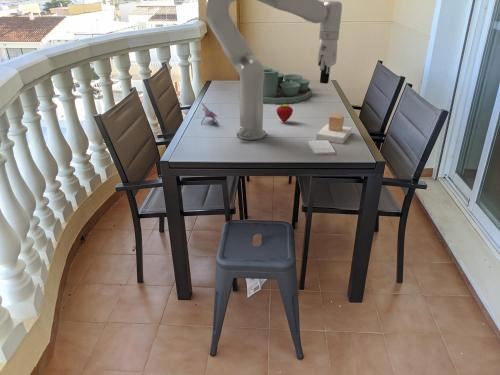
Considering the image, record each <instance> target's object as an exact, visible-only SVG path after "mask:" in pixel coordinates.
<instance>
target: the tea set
mask: <svg viewBox="0 0 500 375" xmlns="http://www.w3.org/2000/svg"><path fill="white" fill-rule="evenodd" d="M262 66H263V68H264V83H263V104H270V105H283V103H284V104H293V103H294V104H295V103H298V102H304V101H306V100H308V99H309V98H310V97H311V95H312V89H311V87H310V86H309V85H310V83H311V80H310V79H308V78H303V75H300V74H294V73H293V74H291V73H290V74H284V73H281V72H280V69H278V68H276V67H271V68H270V67H268V66H264V65H263V64H262Z"/></svg>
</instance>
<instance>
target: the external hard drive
mask: <svg viewBox="0 0 500 375" xmlns="http://www.w3.org/2000/svg"><path fill="white" fill-rule="evenodd" d="M308 145H309V147H310V149H311V150H312V153H313V154H314V156H321V155H322V156H324V155H327V156H328V155H330V156H331V155H337V153H336V151H335V149H334V147H333V146H332V144H331V142H329V141H328V140H309V141H308Z"/></svg>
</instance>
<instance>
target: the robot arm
mask: <svg viewBox="0 0 500 375" xmlns="http://www.w3.org/2000/svg"><path fill="white" fill-rule="evenodd" d="M234 2H237V0H206V2H205V11H204V12H205V18H206V22H207V24H208V26H209V28H210V29H211V31H212V33H213V35H214V36H215V38H216V39H217V41H218V42H219V44H220V46H221V49H222V51H223V53H224V54H225V56H226V57H227V59H228V60H229V61H230V63H231V65H232V66H233V67H234V69H235V71H236V72H237V74H238V76H239V90H238V92H239V130H237V131H236V137H237V138H238V139H241V140H246V141H257V140H261V139H263V138H265V137H266V136H267V131H266V130H265V129H263V126H264V125H263V124H264V123H263V122H264V116H263V115H264V111H263V110H264V103H263V83H264V68H263V66H264V65H263V64H262V63H261V61H260V60H259V59H257V57H256V56H255V54H254V53H253V52H252V49H251V48H250V46H249V45H248V41H247V40H246V38H245V37H244V36H243V34H242V33H241V32H240V30H239V29H238V27H237V25H236V24H235V22H234V20H233V18H232V16H231V15H230V5H231V3H234ZM257 2H261V3H262V4H265V5H267V6H269V7H272V8H274V9H276V10H278V11H283V12H287V13H289V14H292V15H295V16H297V17H300V18H301V19H303V20H305V21H306V22H308V23H309V22H310V23H312V24H320V27H319V36H318V37H319V39H318V40H320V42H319V47H318V48H319V49H318V55H317V66H319V71H320V78H319V83H321V84H325V85H326V84H327V85H328V84H329V82H330V81H329V80H330V74H331V73H330V72H331V67H333V66H335V65H336V64H337V58H338V56H337V55H338V41H339V38H340V28H341V20H342V11H343V10H342V9H343V5H342V2H341V1H334V0H328V1H327V0H326V1H320V0H257ZM262 65H263V66H262Z"/></svg>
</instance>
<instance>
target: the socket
mask: <svg viewBox="0 0 500 375" xmlns="http://www.w3.org/2000/svg"><path fill="white" fill-rule="evenodd" d="M328 129H329V123H326V124H325V125H324V126H323V127H322V128H321V129H320V130H318V132H317V133H316V137H315V138H316V140H315V141H318V140H328V141H329V142H330V143H334V144H340V145H341V144H342V145H343V144H344V143H345V142H346V140H347V139H348V138H349V137H350V136H351V134H352V131H353V130H352V129H353V127H351V126H345V125H343V129H342V130H341V131H332V130H328ZM348 136H349V137H348Z"/></svg>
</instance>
